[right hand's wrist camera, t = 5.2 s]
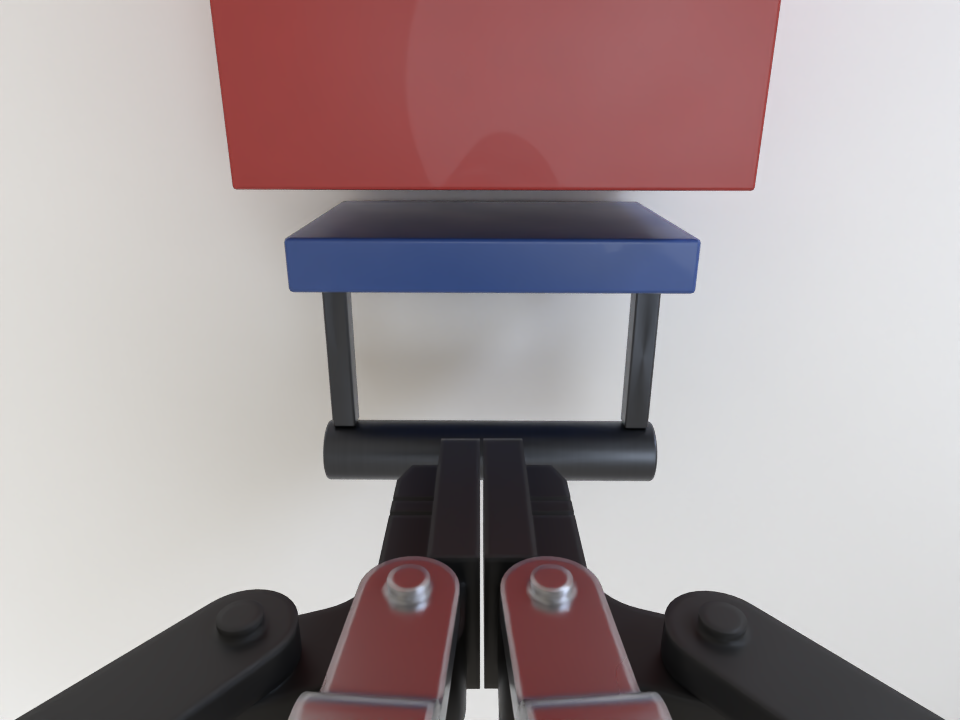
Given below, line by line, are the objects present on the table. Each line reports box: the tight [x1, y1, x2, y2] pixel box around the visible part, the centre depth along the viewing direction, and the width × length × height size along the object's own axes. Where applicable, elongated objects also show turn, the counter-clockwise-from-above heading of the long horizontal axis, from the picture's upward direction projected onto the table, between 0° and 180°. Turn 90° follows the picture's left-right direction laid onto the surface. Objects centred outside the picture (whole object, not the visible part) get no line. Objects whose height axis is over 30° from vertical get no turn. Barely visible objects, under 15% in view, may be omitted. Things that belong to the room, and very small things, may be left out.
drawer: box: [284, 201, 701, 481], centre depth 15 cm, size 23×9×6 cm, turn 0°
